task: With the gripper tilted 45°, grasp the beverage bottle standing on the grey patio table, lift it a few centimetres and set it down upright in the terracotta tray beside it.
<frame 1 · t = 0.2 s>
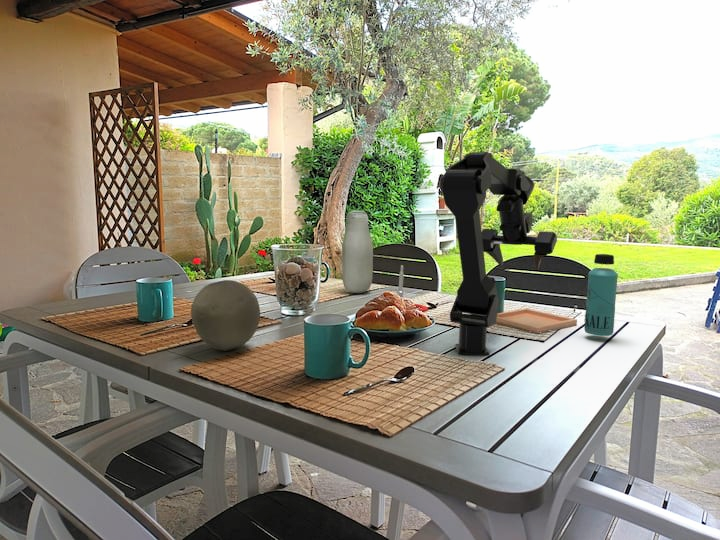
hand: (519, 266, 135), 15 cm above the table, tool tilted 35°, fingers open, 9 cm apart
beverage bottle: (598, 339, 122), on the table
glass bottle: (356, 293, 177), on the table
tray: (531, 323, 137), on the table
roll: (469, 304, 161), on the table
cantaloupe: (227, 351, 111), on the table
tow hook: (411, 310, 152), on the table
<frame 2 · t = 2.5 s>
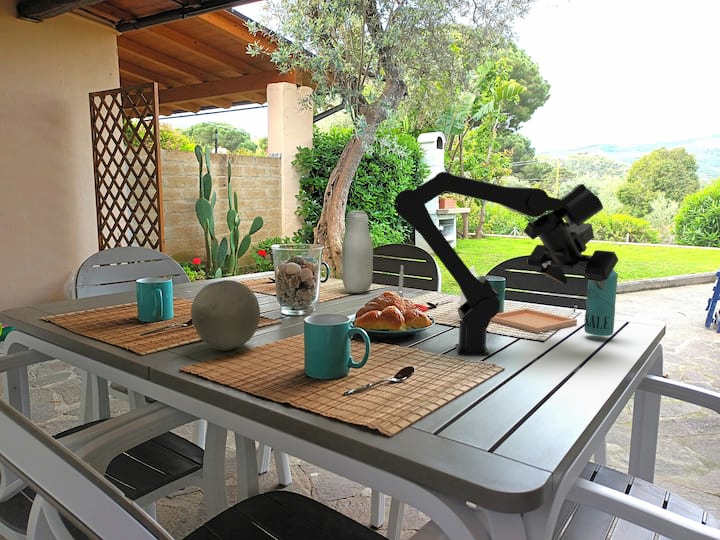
hand: (583, 285, 116), 13 cm above the table, tool tilted 45°, fingers open, 9 cm apart
nothing on the table moved.
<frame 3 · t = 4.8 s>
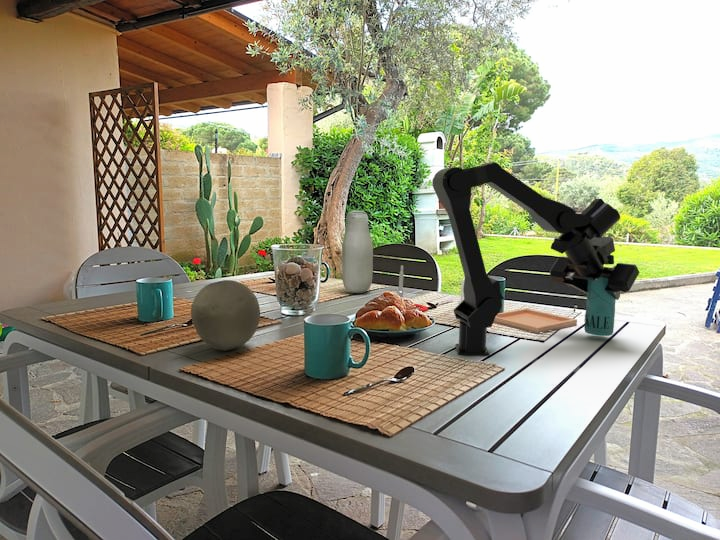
hand: (604, 295, 122), 10 cm above the table, tool tilted 45°, fingers closed on beverage bottle, 6 cm apart
beverage bottle: (598, 339, 122), on the table, touching gripper
everything else where it was.
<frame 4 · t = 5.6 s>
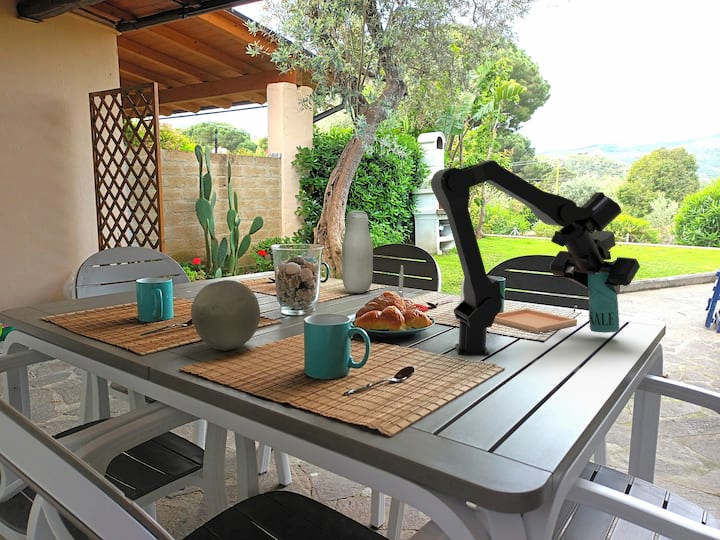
hand: (604, 290, 122), 11 cm above the table, tool tilted 45°, fingers closed on beverage bottle, 6 cm apart
beverage bottle: (604, 337, 121), point 1 cm above the table, touching gripper
everything else where it was.
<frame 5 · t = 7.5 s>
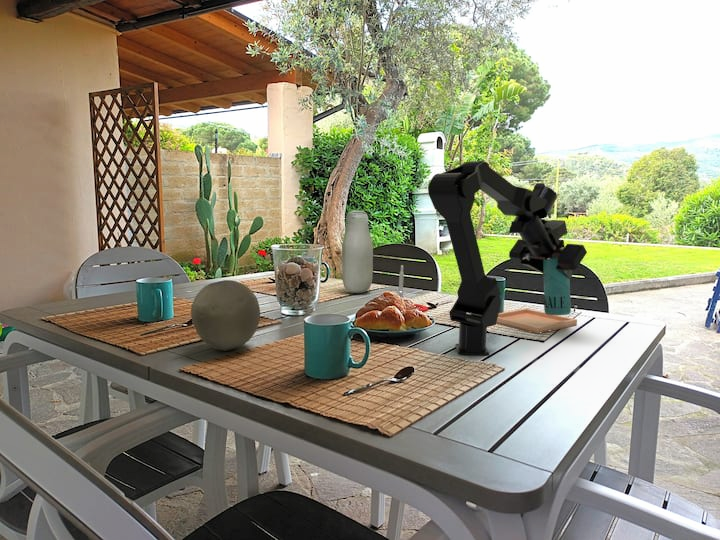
hand: (559, 275, 131), 13 cm above the table, tool tilted 45°, fingers closed on beverage bottle, 6 cm apart
beverage bottle: (557, 320, 131), point 2 cm above the table, touching gripper
everything else where it was.
when the fingers open (12 cm above the table, at t = 9.1 s): beverage bottle stays where it is, resting on tray.
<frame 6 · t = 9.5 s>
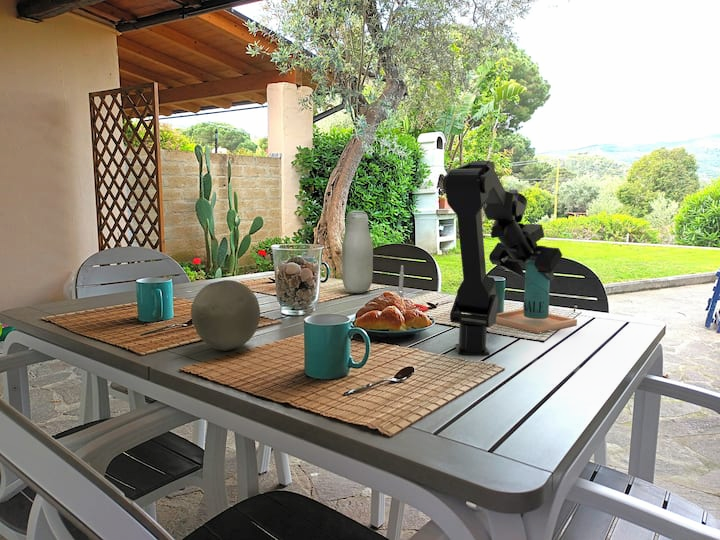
hand: (537, 277, 136), 12 cm above the table, tool tilted 45°, fingers open, 9 cm apart
beverage bottle: (535, 322, 136), resting on tray, touching gripper
everything else where it was.
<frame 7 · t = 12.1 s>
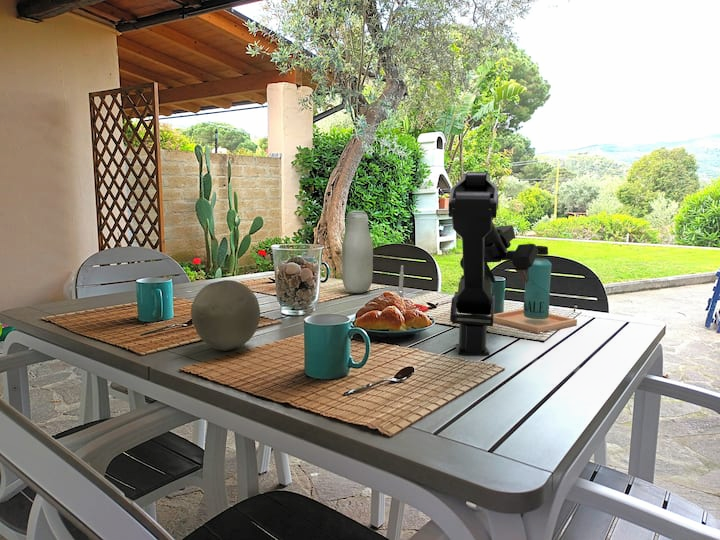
hand: (510, 281, 130), 12 cm above the table, tool tilted 40°, fingers open, 9 cm apart
beverage bottle: (535, 322, 136), resting on tray
everything else where it was.
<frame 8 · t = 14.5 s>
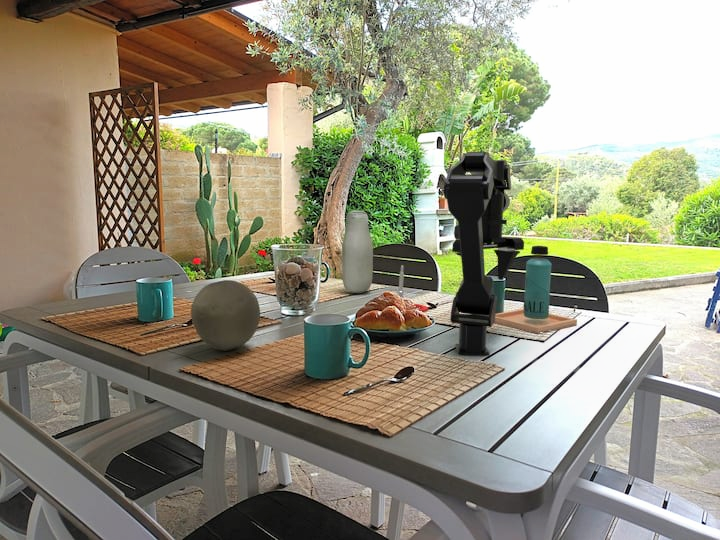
hand: (487, 281, 123), 13 cm above the table, tool pointing down, fingers open, 9 cm apart
nothing on the table moved.
at the end: beverage bottle inside the target area on the tray (1.4 cm from its centre), point 0.3 cm above the tray's base; beverage bottle tilted 0°; the gripper is holding nothing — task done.
